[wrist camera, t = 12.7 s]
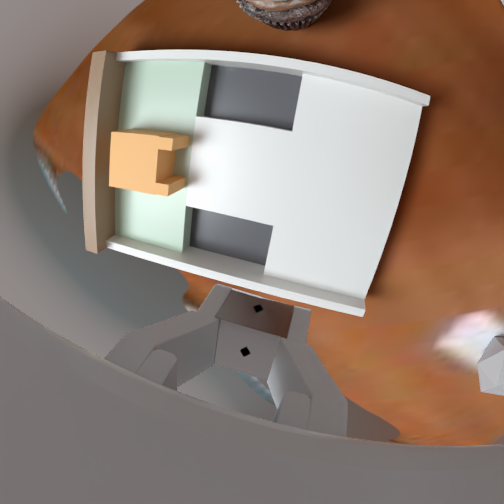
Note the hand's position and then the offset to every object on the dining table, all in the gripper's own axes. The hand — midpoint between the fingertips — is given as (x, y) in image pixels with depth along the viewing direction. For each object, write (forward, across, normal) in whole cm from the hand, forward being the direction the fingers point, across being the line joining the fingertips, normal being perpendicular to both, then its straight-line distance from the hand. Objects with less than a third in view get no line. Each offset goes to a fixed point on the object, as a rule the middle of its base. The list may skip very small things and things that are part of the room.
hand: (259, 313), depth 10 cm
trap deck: (+25, +8, +1) cm, 26 cm away
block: (+22, +17, +1) cm, 28 cm away
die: (+25, -36, +17) cm, 47 cm away
